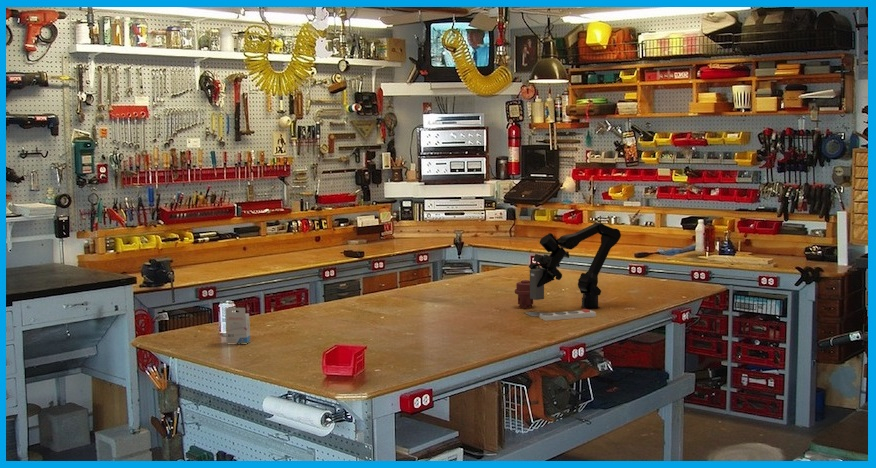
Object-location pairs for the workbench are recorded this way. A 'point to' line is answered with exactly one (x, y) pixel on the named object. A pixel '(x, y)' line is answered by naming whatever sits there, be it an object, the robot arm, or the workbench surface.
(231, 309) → the ink box
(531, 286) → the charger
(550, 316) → the power strip
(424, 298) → the workbench surface
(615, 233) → the robot arm
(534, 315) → the mat
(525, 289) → the mechanical component
